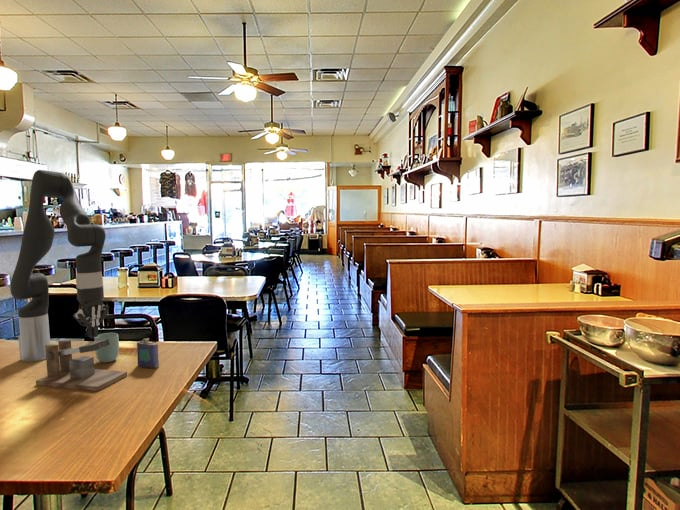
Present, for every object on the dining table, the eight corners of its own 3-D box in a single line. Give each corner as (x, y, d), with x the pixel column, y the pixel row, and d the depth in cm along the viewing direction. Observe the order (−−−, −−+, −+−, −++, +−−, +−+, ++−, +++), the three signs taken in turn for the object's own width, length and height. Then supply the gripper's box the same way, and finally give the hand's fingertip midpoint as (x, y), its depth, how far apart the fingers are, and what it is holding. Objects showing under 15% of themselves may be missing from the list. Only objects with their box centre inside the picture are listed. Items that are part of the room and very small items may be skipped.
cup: (123, 357, 164) (122, 332, 163) (111, 364, 157) (109, 338, 156) (105, 357, 165) (103, 332, 164) (91, 364, 157) (89, 338, 156)
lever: (48, 358, 140) (47, 352, 140) (65, 352, 146) (63, 346, 146) (95, 350, 136) (93, 344, 136) (110, 344, 142) (108, 338, 142)
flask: (160, 366, 154) (159, 338, 153) (154, 369, 152) (152, 340, 150) (141, 363, 158) (139, 335, 157) (135, 366, 155) (133, 338, 154)
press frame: (36, 385, 138) (33, 348, 137) (69, 370, 151) (67, 336, 150) (97, 391, 133) (95, 353, 132) (127, 375, 146) (125, 340, 144)
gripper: (96, 281, 145) (99, 331, 146) (63, 288, 132) (66, 342, 134) (114, 282, 143) (117, 332, 145) (83, 289, 130) (86, 344, 132)
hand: (93, 337), depth 139 cm, fingers closed
